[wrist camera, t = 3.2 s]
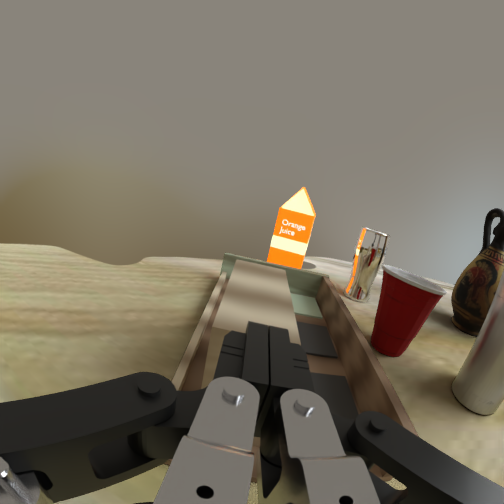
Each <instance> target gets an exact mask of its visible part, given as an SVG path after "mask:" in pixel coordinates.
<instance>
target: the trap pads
mask: <svg viewBox="0 0 504 504" xmlns="http://www.w3.org/2000/svg"><path fill="white" fill-rule="evenodd" d="M296 323H297V328H298V333H299V337H300V342H301V347H302V348H303V349H304V351H305V352H306V354H308V355H314V356H321V357H328V358H336V359H337V358H338V356H337V353H336V351H335V348H334V345H333V343H332V340H331V338H330V335H329V332H328V330H327V327H326V326H320V325H315V324H309V323H304V322H298V321H296ZM311 377H312V381H313V386H314V390H315V393H316V394H317V395H319V396H320V397H322V398H323V399H324V400H325V402H326V403H327V405H328V407H329V410H330V413H332V414H334V415H337V416H340V417H343V418H347V419H350V420H354V421H355V419H356V418H357V416H358V415H359V414H358V411H357V408H356V405H355V402H354V399H353V397H352V394H351V391H350V388H349V385H348V383H347V380H346V377H345V376H339V375H330V374H322V373H314V372H311Z"/></svg>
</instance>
